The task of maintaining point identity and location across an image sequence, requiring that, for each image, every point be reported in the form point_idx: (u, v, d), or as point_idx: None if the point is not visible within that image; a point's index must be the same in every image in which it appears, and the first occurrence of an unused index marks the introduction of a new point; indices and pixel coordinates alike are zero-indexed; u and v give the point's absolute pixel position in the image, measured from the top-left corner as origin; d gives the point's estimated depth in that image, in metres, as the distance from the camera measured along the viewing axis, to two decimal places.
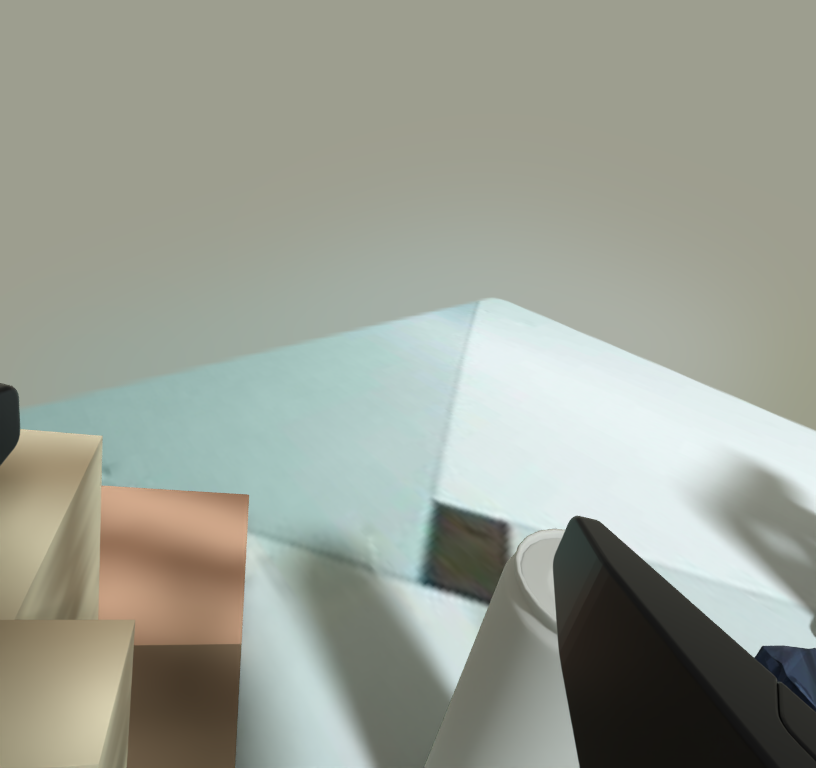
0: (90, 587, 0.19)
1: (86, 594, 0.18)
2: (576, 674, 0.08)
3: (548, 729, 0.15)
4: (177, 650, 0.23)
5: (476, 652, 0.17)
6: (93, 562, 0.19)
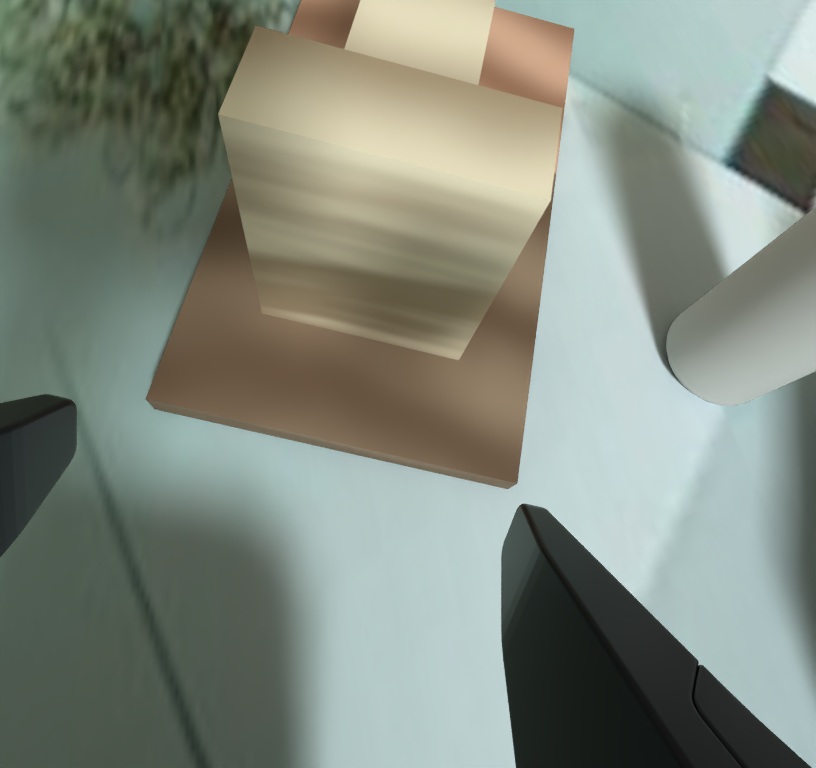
0: None
1: None
2: (515, 661, 0.08)
3: None
4: None
5: (810, 222, 0.18)
6: None
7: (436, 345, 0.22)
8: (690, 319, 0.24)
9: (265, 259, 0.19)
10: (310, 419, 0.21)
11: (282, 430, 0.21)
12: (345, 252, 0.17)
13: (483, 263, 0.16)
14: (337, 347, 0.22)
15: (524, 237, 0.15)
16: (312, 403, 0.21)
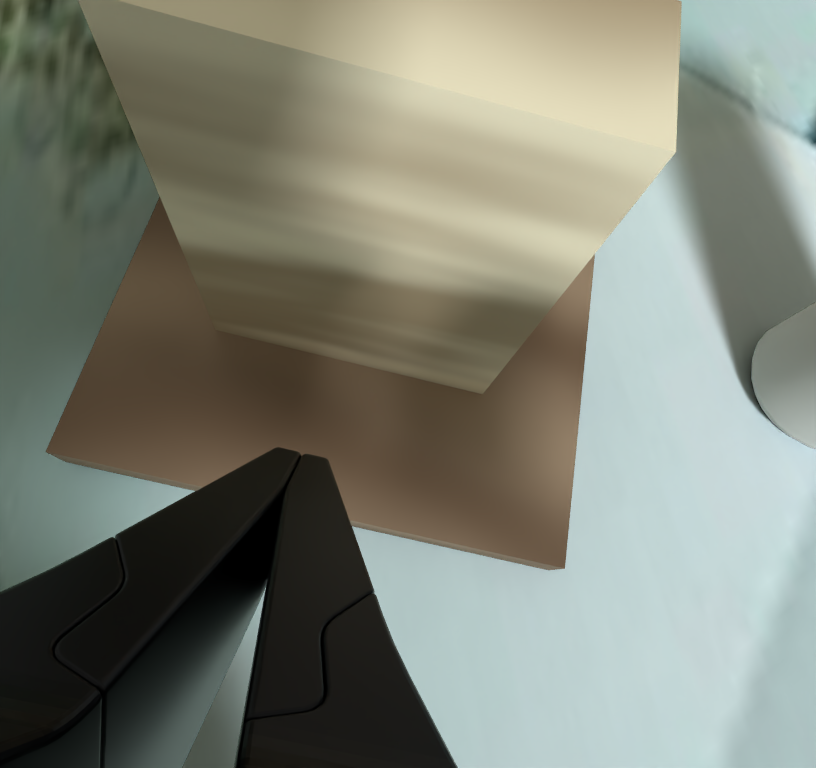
0: None
1: None
2: (262, 607, 0.08)
3: None
4: None
5: None
6: None
7: (453, 375, 0.16)
8: (791, 339, 0.18)
9: (205, 255, 0.13)
10: None
11: None
12: (321, 245, 0.11)
13: (536, 264, 0.10)
14: (318, 376, 0.16)
15: (612, 221, 0.09)
16: None
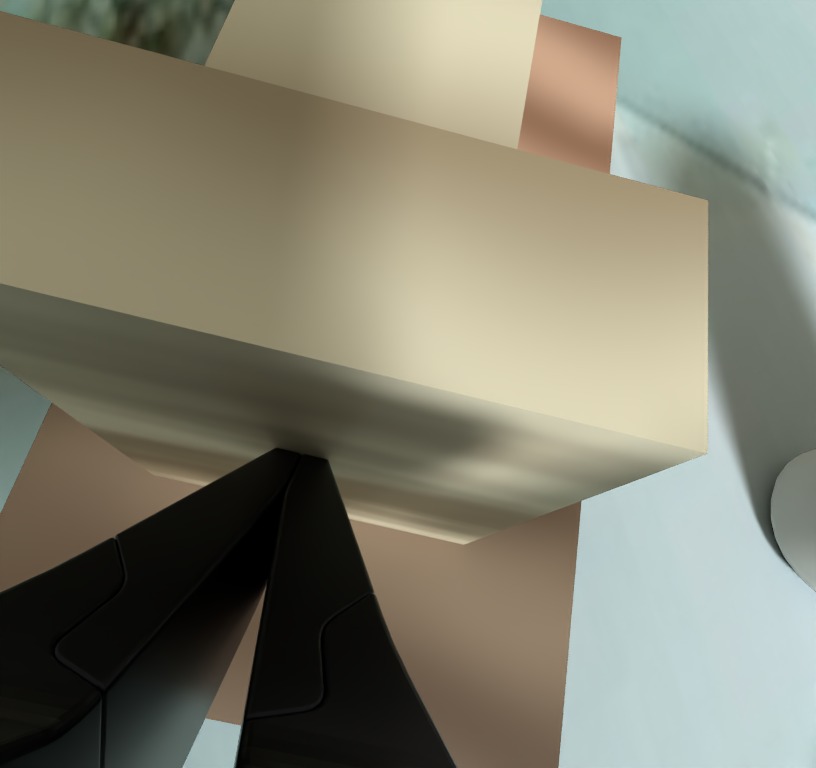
0: None
1: None
2: (262, 607, 0.08)
3: None
4: None
5: None
6: None
7: (429, 532, 0.14)
8: None
9: (118, 435, 0.10)
10: None
11: None
12: (251, 448, 0.09)
13: (518, 492, 0.08)
14: None
15: (615, 482, 0.07)
16: None
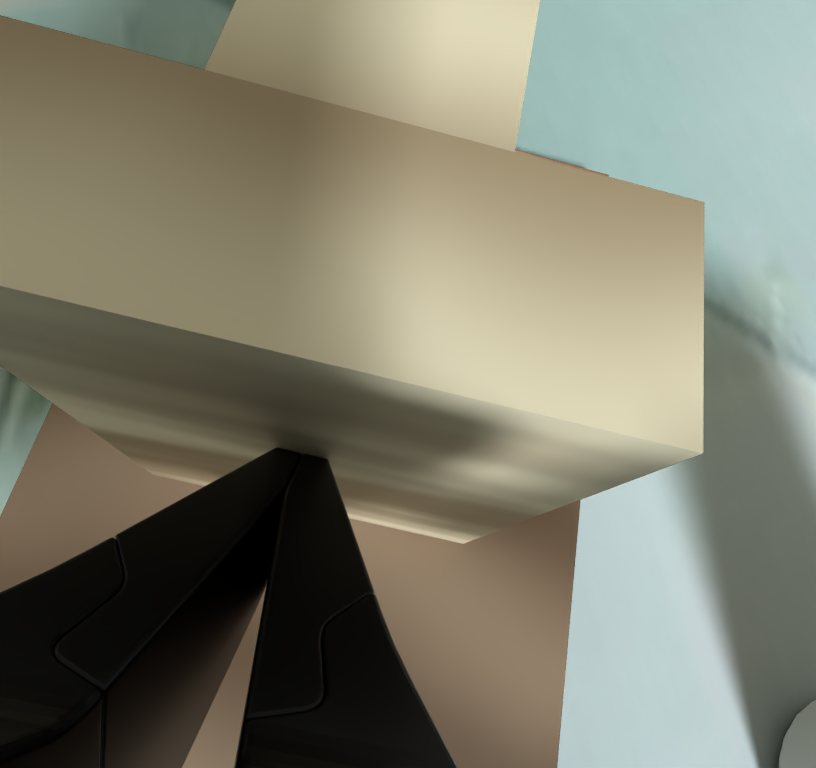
0: None
1: None
2: (262, 607, 0.08)
3: None
4: None
5: None
6: None
7: (429, 531, 0.14)
8: None
9: (119, 436, 0.10)
10: None
11: None
12: (251, 448, 0.09)
13: (516, 491, 0.08)
14: None
15: (612, 481, 0.07)
16: None
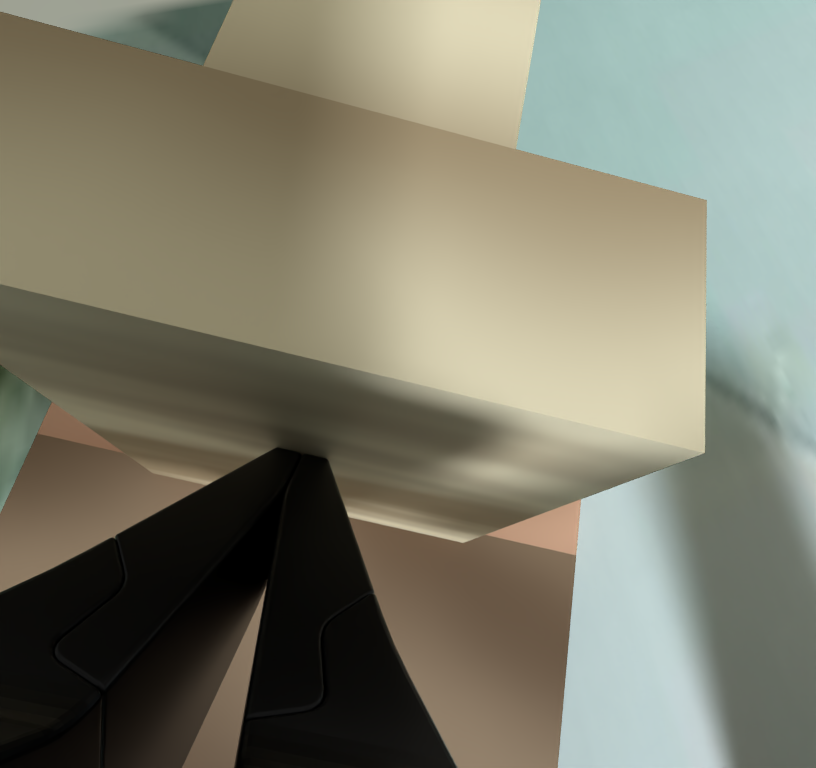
0: None
1: None
2: (262, 607, 0.08)
3: None
4: (484, 545, 0.15)
5: None
6: None
7: (428, 530, 0.14)
8: None
9: (119, 434, 0.10)
10: None
11: None
12: (251, 447, 0.09)
13: (517, 491, 0.08)
14: None
15: (614, 481, 0.07)
16: None
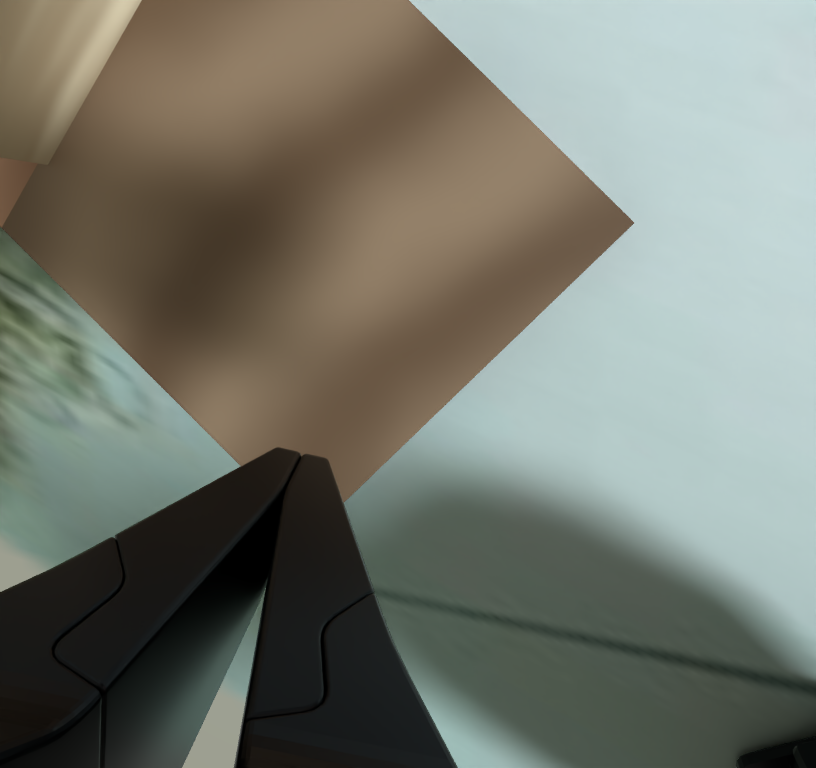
0: None
1: None
2: (262, 607, 0.08)
3: None
4: None
5: None
6: None
7: None
8: None
9: None
10: (411, 408, 0.18)
11: (407, 440, 0.18)
12: None
13: None
14: (346, 331, 0.18)
15: None
16: (396, 396, 0.18)
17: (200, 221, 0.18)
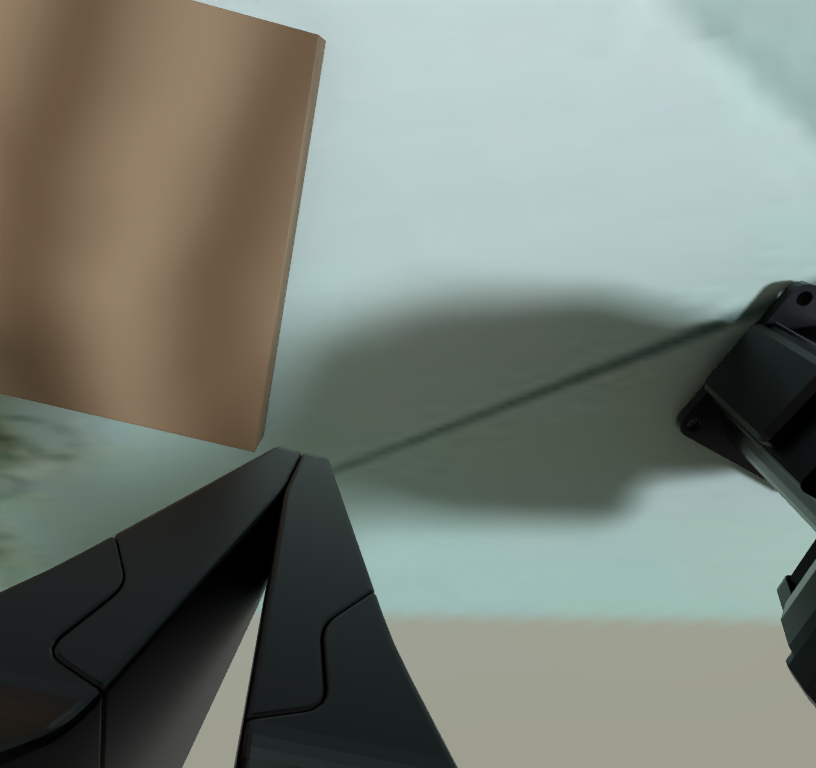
0: None
1: None
2: (262, 607, 0.08)
3: None
4: None
5: None
6: None
7: None
8: None
9: None
10: (258, 301, 0.19)
11: (273, 329, 0.20)
12: None
13: None
14: (167, 270, 0.19)
15: None
16: (240, 298, 0.19)
17: None
